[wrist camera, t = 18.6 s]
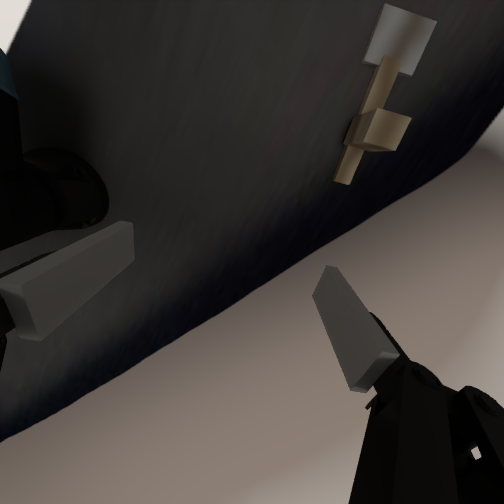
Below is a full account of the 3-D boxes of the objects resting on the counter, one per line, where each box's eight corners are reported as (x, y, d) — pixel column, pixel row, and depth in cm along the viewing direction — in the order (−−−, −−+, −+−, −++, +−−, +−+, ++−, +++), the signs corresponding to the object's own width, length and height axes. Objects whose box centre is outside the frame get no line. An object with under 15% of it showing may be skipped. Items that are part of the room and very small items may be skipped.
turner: (319, 177, 38) (335, 182, 30) (380, 8, 28) (428, -48, 20) (357, 186, 38) (383, 194, 31) (431, 25, 28) (496, -22, 21)
